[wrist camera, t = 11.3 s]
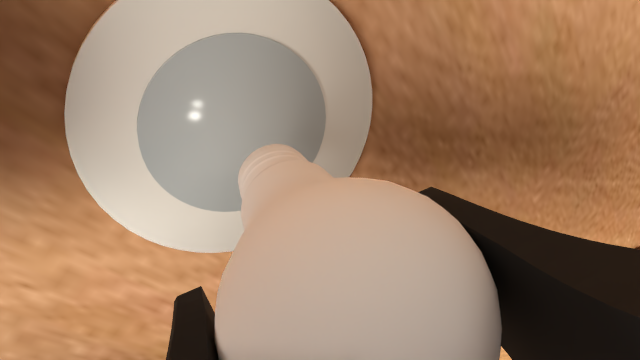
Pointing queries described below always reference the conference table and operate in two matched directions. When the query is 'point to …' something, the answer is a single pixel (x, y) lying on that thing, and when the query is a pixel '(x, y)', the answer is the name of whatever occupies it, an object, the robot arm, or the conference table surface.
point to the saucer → (209, 107)
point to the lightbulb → (349, 271)
